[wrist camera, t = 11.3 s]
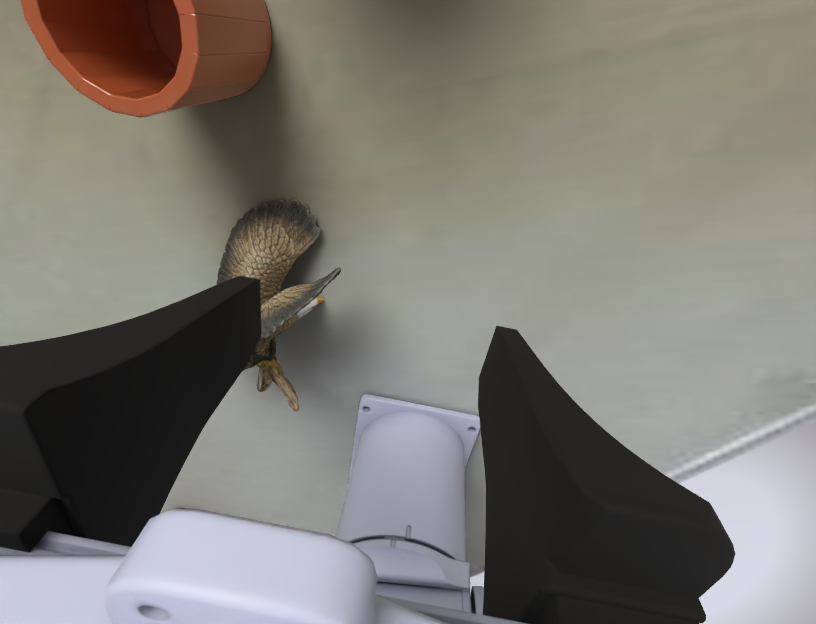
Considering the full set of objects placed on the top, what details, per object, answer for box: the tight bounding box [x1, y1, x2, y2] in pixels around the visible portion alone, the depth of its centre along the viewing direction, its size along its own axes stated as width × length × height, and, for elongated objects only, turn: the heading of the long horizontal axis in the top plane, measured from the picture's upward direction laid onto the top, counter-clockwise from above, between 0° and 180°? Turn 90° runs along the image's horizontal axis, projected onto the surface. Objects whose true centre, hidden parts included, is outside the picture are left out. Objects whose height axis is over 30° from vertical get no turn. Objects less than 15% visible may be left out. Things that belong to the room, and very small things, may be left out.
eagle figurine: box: [217, 199, 341, 411], centre depth 21 cm, size 8×7×9 cm
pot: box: [20, 0, 272, 117], centre depth 15 cm, size 5×5×6 cm
